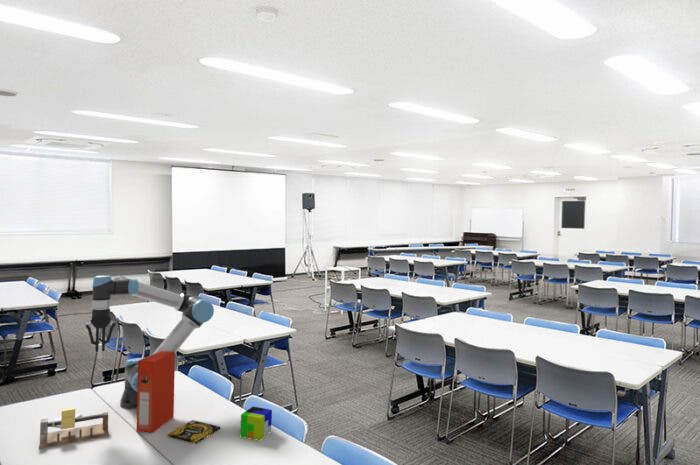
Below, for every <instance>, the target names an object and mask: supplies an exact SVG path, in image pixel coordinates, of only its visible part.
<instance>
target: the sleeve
mask: <svg viewBox="0 0 700 465" xmlns="http://www.w3.org/2000/svg"><path fill="white" fill-rule="evenodd" d="M75 414H76V407H72V408H71V407H70V408H64V409H61V415H60V416H61V427H60V431H62V430H67V429H73V428H76V422H75Z"/></svg>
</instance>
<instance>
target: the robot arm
mask: <svg viewBox="0 0 700 465" xmlns="http://www.w3.org/2000/svg"><path fill="white" fill-rule="evenodd" d="M125 295H127V296H133V297H135V298H140V299H144V300H146V301H151V302H154V303H156V304H160V305H163V306H166V307H167V306H168V307H170V308H173V309H174V310H175V311H176V312H177V311H178V312H179V313H180V312H181V320H180V321H179V322H178V323H177V324H176V325H175V327H174V328H173V329H172V330H171V332H169V334H168V335H167V336H166V337H165V338H164V340H162V342H161V343H160V344H159V346H158V347H157V348H156V349H155V350H154V352H153V353H152V354H155V353H157V352H159V351H170V352H175V354H176V353H177V352H178V350H179V349H180V348H181V347H182V345H183V344H184V343H185V342H186V341H187V339H189V337H190V336H191V334H192V333H193V332H194V331H195V330H196V329H200V328H201V327H202V326H203V324H204V323H207V322H208V321H210V320H211V319H212V318H213V316H214V313H215V309H214V305H213V304H212V302H211V301H209V300H208V299H205V298H203V297H201V296H197V295H190V294H186V293H183V292H182V293H180V294H179V293H176V292H173V291H170V290H166V289H163V288H160V287H157V286H154V285H151V284H148V283H144V282H140V281H139V280H138V279H137V278H128V277H126V276H122V275H120V276H119V275H118V276H116V277H114V278H112V276H111V275H96V276H94V277H93V281H92V300H91V301H92V303H91V308H92V310H91V319H90V321H89V322H87V323H85V324H84V325H85V326H84V327H85V328H86V329H87V332H88V335H89V340H90V343H91V344H92V345H95V348H94V349H95V350H94V351H95V352H96V353H97V359H98V360H100V359H101V360H102V357H103V356H102V354H103V352H105V349H106V348H105V347H106V345H107V344H108V343H110V342H111V341H110V339H111V337H112V334H113V330H114V328H115V326H116V324H117V322H116V321H113V320H112V318H111V299H112V298H111V297H112V296H125ZM108 325H109V330H108V333H107V335H106V328H107V326H108ZM92 326H93V328H95V340H94V335H93V332H92V328H91V327H92ZM100 329H101V343H99V342H100V341H99V339H100ZM106 336H107V337H106ZM143 358H144V357H136V358H130V359H127V360H126V361H125V366H124V389H123V392H122V396H121V398H120V400H119V401H120V404H119V405H120V407H121V408H125V409H137V384H138V361H139V360H141V359H143Z"/></svg>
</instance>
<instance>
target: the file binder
mask: <svg viewBox="0 0 700 465" xmlns="http://www.w3.org/2000/svg"><path fill="white" fill-rule="evenodd" d="M142 358H143V359H141V360H139V361H138V384H137V408H136V432H137V433H148V434H153V433H154V432H156V431H157V430H158V429H159V428H161V427H163V426H164V425H165V424H166V423H167V422H169V421H171V420H172V419H173V418H174V417H175V416H174V415H175V411H174V410H175V409H174V408H175V376H176V375H175V370H176V353H175V352H170V351H159V352H157V353H155V354H153V353H152V354H150V355H148V356H146V357H142Z"/></svg>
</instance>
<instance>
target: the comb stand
mask: <svg viewBox="0 0 700 465" xmlns="http://www.w3.org/2000/svg"><path fill="white" fill-rule="evenodd" d="M98 419H102V423H98V424H91V425H86V426H80V427H79V426H78V427H74V428H68V429H62V430H58V431H57V430H56V431H51V432H49V431H48V430H49V428H51V427H52V428H55V427H56V426H57V425H61V420H60V421H55V419H53V420H54V421H53V420H51V421H52V422H51V421H49V418H48V417H47V418H41V419H40V424H39V426H40V427H39V429H40V430H39V444H38V449H44V448H50V447H55V446H61V445H65V444H67V445H68V444H72V443H76V442H82V441H87V440H93V439H98V438H104V437H108V436H109V412H108V411H107V412H103V413H98V414H93V415H92V414H91V415H87V416H82V417H79V418H75V423H79V422H80V423H81V422H85V421H87V422H88V421H93V420H98Z"/></svg>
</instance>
